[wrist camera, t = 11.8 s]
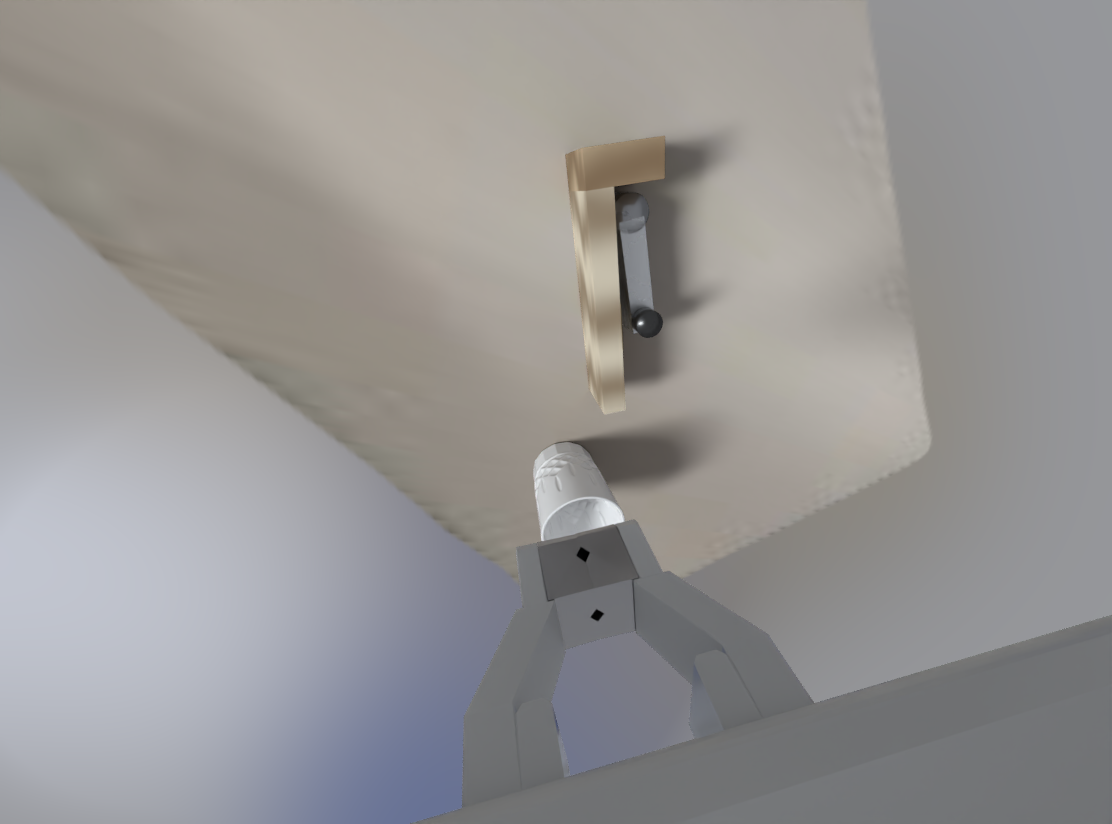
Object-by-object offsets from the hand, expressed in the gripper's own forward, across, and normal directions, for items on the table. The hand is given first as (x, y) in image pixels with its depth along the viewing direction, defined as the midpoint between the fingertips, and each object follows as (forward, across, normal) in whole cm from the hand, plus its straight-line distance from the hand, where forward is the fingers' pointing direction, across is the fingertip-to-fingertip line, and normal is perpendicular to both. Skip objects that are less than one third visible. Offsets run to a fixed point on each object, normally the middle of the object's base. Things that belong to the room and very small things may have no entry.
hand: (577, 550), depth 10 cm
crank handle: (+29, -11, -1) cm, 31 cm away
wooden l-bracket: (+29, -10, +1) cm, 31 cm away
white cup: (+29, -3, +20) cm, 36 cm away
